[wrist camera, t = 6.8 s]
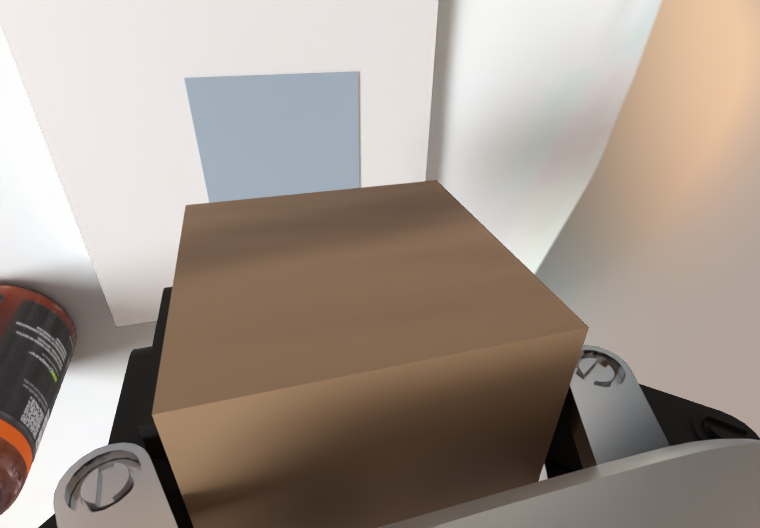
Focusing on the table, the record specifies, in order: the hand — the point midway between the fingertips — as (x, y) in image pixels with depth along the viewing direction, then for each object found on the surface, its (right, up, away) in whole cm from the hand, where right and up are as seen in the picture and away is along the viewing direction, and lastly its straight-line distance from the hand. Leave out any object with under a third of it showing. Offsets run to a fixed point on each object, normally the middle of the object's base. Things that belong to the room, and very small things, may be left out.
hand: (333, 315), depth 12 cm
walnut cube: (0, 0, +1) cm, 1 cm away
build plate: (-4, +7, +10) cm, 13 cm away
